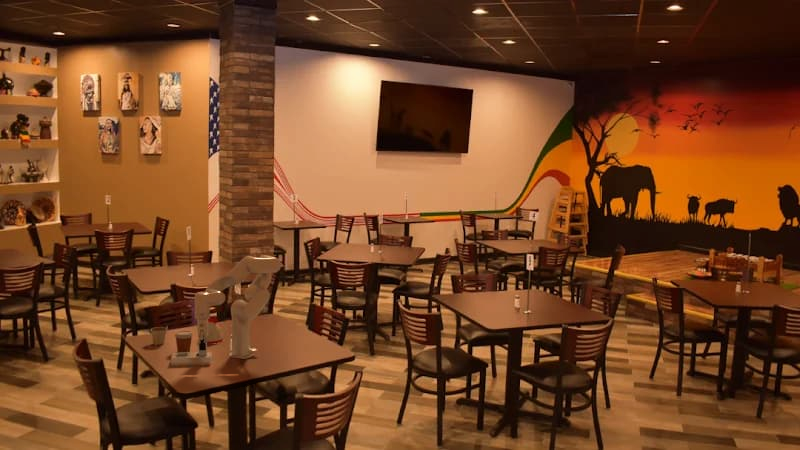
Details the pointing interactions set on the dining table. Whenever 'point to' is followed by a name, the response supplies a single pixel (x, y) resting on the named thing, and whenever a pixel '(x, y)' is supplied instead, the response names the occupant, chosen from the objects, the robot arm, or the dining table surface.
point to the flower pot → (158, 335)
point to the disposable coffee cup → (183, 341)
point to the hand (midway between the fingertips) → (202, 348)
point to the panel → (190, 359)
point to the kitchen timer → (214, 332)
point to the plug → (202, 352)
